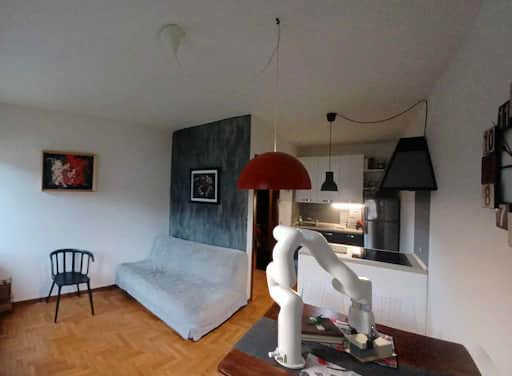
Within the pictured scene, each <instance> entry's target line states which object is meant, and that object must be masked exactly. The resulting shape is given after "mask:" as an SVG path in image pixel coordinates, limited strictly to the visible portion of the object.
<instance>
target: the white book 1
mask: <svg viewBox="0 0 512 376" xmlns="http://www.w3.org/2000/svg"><path fill="white" fill-rule="evenodd" d="M366 340H368V339H367V336H366V334H364V333H362V332H360V333H357V334H354V335H351V334H349V335H347V341H348V342H349V343H350V342H351V343H353V344H355V345H356V346H358V347H360V348H361V349H364V348H366ZM375 346H376V341H373V347H375Z"/></svg>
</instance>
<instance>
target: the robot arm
mask: <svg viewBox="0 0 512 376" xmlns="http://www.w3.org/2000/svg"><path fill="white" fill-rule="evenodd" d="M272 235H273V238H274V239H275V240H276V241H277V242H276V244H275V245H274V247H273V250H272V261H271V262H269V263H268V265H267V266H266V269H265V270H266V271H265V274H266V280H267V286H268V292H269V295H270V297H271V299H272V300H273V301H274V302H275V303H276V304H277V305H278V306H279V307H280V310H279V313H278V316H277V347H275V350H274V351H269V352H268V356H269V358H274V360H275V361H276V362H277V363H279V364H280V365H281V366H283V367H285V368H288V369H291V370H301V369H303V368H304V367H305V366H306V360H305V358H304V357H303V356H302V344H301V342H302V341H301V320H302V316H303V312H304V306H305V304H304V303H305V302H304V300H303V298H302V296H301V295H300V293H298V292H297V291H296V290H294V289H293V288H294V287H295V286H296V284H297V274H296V273H297V272H296V269H295V268H296V267H295V260H294V254H295V251H296V250H297V249H298V248H299V247H304V248H306V249H307V250H308V251H309V252H310V253H311V255H312V256H313V258H314V259H315V260H316V262H317V264H318V265H319V266H320V268H322V269H323V270H324V271H325V272H327V273H329V274H330V275H331V276H332V277H333V278H332V280H331V285H332V287H333V289H334V290H335V291H337V292H339V293H340V294H343V295H344V296H346V297H347V298H350V299H349V300H350V302H351V303H350V305H349V307H348V311H347V317H345V318H344V321H345V322H346V324H347V326H348V329H349V331H350V335H354V334H358V331H359V332H360V333H362V334H364V335H365V336H367V339H368V340H366V348H367V349H373V341H374V340H376V339H378V338H379V337H381V338H382V336H381V334H380V332H378V330H377V329H376V319H375V313H374V310H373V282H372V281H371V279H369V278H367V277H363V276H358V275H357V274H356V272H355V271H353V270H352V269H351V268H350V267H349V266H348V265H347V264H346V263H345V262H344V261H343V260H342V259H340V257H339V256H338V255H337V254H336V252H335V251H334V250H333V248H332V247H331V245H330V243H329V242H328V241H327V239H326V238H325V237H324V236H323V234H322V233H321V232H318V231H315V230H312V229H306V228H302V227H301V228H300V227H295V226H291V225H286V224H278V225H276V226H275V227H274V228H273V230H272Z"/></svg>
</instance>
